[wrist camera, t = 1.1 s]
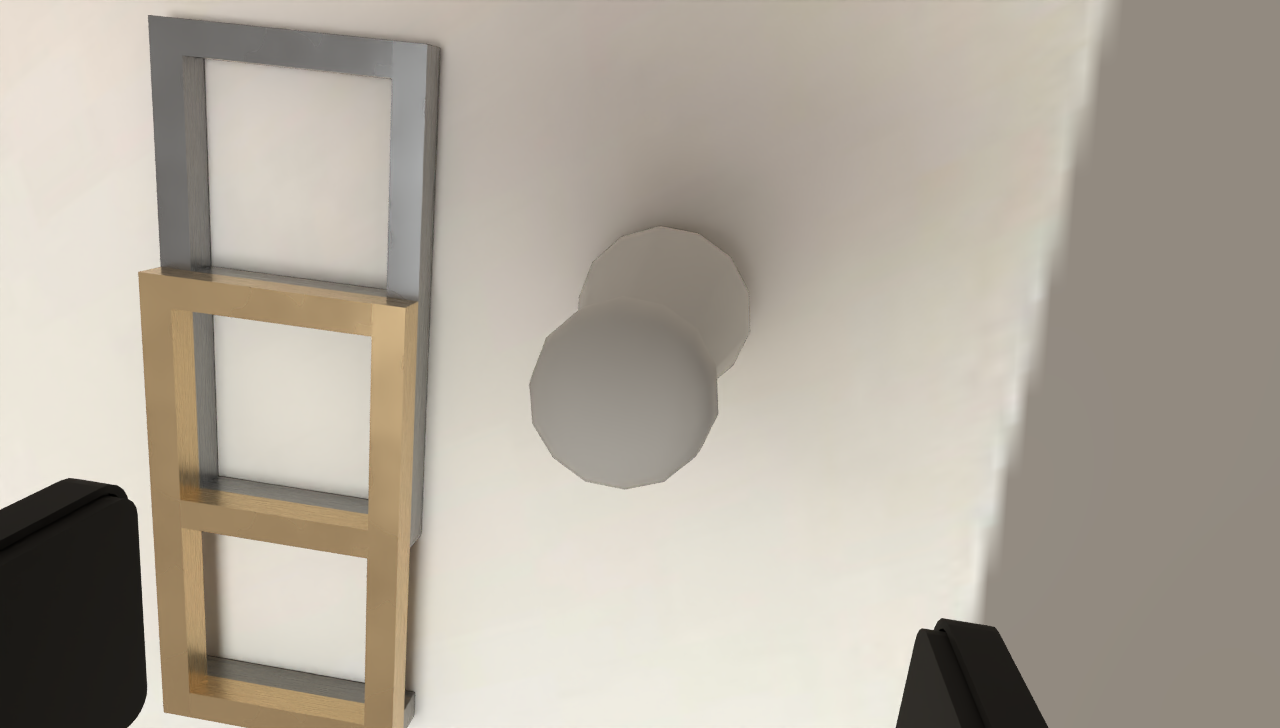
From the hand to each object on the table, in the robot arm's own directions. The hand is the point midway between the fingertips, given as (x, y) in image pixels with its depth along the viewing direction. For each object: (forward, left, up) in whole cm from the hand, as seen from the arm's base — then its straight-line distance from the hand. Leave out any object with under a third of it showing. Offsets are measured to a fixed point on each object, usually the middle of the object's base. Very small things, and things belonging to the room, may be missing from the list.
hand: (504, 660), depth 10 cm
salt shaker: (0, 0, -22) cm, 22 cm away
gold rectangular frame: (+10, -14, -21) cm, 28 cm away
